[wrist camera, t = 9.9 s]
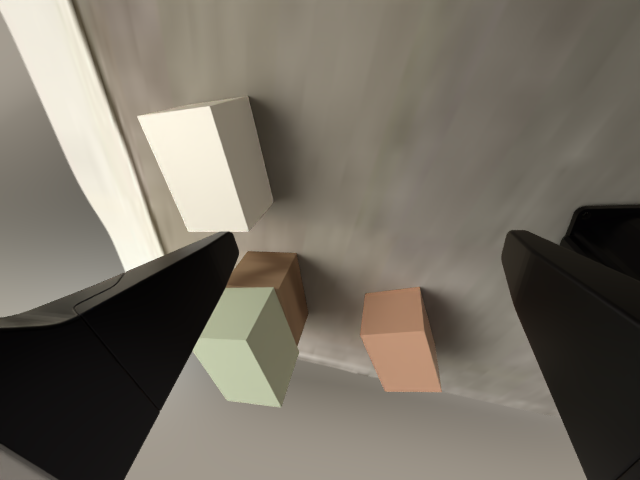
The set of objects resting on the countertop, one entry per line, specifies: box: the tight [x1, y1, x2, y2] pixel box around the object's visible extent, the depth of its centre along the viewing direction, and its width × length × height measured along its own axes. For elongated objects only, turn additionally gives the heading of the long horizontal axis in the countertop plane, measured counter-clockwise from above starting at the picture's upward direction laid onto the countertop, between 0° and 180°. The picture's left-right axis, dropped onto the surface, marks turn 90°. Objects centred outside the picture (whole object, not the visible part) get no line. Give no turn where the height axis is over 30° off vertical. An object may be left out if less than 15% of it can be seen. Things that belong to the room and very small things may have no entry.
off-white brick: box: [137, 96, 274, 232], centre depth 20 cm, size 5×8×5 cm, turn 7°
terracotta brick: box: [360, 287, 442, 392], centre depth 25 cm, size 5×8×5 cm, turn 21°
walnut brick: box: [226, 251, 308, 346], centre depth 26 cm, size 5×8×5 cm, turn 6°
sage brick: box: [193, 287, 299, 407], centre depth 22 cm, size 5×8×5 cm, turn 12°
